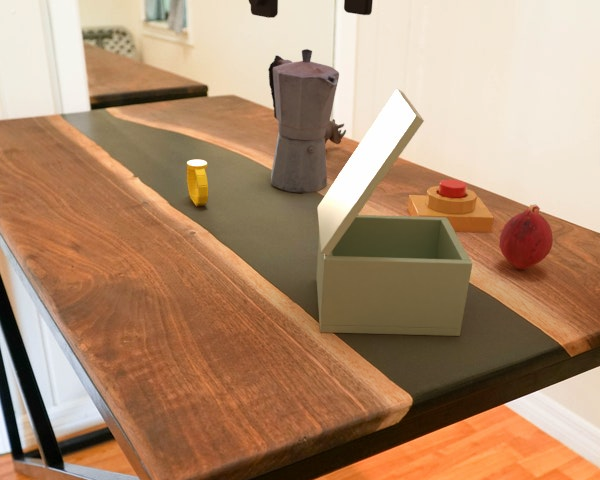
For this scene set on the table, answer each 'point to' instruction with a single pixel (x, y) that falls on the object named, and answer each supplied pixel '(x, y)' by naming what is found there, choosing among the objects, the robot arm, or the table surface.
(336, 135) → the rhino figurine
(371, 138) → the chest lid
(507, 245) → the onion
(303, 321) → the table surface
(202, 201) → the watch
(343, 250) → the chest
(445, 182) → the button
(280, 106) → the moka pot
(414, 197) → the button block
